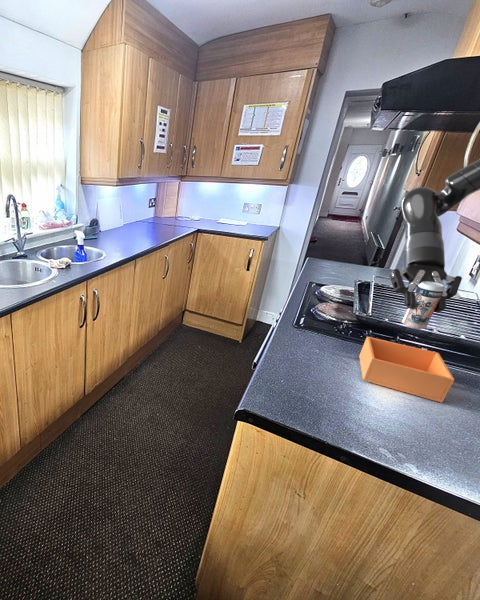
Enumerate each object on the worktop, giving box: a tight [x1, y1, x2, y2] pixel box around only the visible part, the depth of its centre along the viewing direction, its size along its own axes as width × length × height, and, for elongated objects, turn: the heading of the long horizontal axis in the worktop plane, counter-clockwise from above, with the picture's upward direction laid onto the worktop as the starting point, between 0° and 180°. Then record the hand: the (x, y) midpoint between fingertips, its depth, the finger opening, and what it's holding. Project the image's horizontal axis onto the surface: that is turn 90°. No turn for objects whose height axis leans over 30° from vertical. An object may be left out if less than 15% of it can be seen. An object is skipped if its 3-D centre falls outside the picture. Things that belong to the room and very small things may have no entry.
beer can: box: [401, 281, 445, 330], centre depth 84 cm, size 5×5×12 cm
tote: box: [358, 336, 455, 404], centre depth 88 cm, size 15×15×7 cm
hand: (424, 309), depth 83 cm, fingers closed on beer can, 4 cm apart
